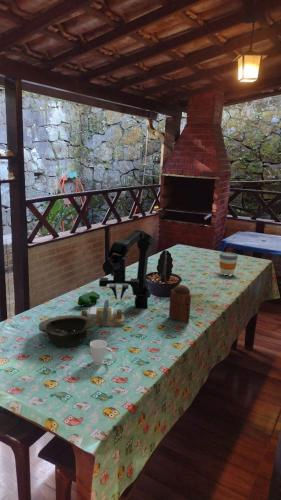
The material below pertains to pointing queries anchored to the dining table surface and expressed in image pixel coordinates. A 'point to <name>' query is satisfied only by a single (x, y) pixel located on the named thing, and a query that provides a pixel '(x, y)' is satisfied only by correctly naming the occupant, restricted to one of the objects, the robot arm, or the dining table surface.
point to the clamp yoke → (105, 312)
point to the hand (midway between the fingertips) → (118, 299)
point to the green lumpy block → (88, 298)
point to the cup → (99, 351)
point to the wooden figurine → (180, 303)
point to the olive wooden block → (100, 313)
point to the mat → (94, 309)
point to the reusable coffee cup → (227, 262)
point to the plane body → (114, 320)
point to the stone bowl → (67, 329)
